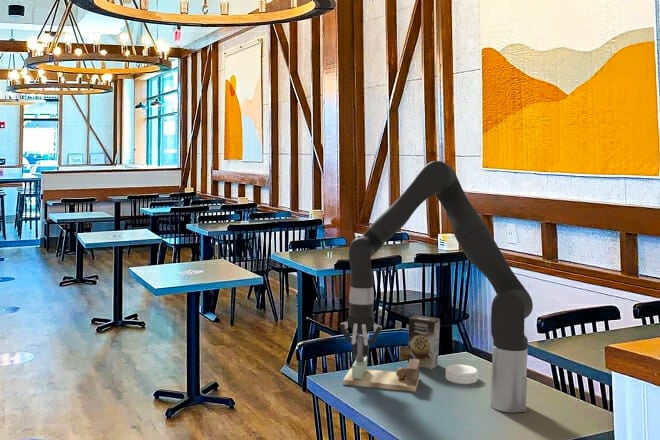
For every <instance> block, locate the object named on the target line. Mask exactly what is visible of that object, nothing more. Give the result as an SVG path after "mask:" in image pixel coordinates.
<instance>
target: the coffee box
mask: <svg viewBox="0 0 660 440" xmlns="http://www.w3.org/2000/svg"><path fill="white" fill-rule="evenodd" d="M408 319H409V320H408V343H407V344H408V345H407V346H408V347H407V364H408V363H409V360H410V359H419V368H422V369H423V368H425V369H429V370H433V369H434V368H436V367H437V366H438V365H439V346H440V345H439V344H440V326H441V319H440V318H439V317H438V318H437V317H431V316H425V315H417V314H416V315H413V316H410V317H409V318H408Z"/></svg>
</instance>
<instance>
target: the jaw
mask: <svg viewBox="0 0 660 440" xmlns="http://www.w3.org/2000/svg"><path fill="white" fill-rule="evenodd" d="M363 346H364V338H363V334H358V335H357V348H356V356H355V357H356V358H355V361H354V362H353V364H352V365H351V368H352V378H355V379H362V378H363V376H364V374H365V372H366V370H367V369H368V356H366V357H363Z"/></svg>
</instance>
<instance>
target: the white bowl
mask: <svg viewBox="0 0 660 440" xmlns="http://www.w3.org/2000/svg"><path fill="white" fill-rule="evenodd" d="M478 374H479V370H478V369H477V368H475V367H474V366H472V365H468V364H451V365H448V366H446V367H445V379H446V380H447V381H449V382H450V383H453V384H458V385H459V384H460V385H470V384H475V383H477V382H478V380H479V379H478V376H479V375H478Z"/></svg>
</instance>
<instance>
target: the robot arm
mask: <svg viewBox="0 0 660 440" xmlns="http://www.w3.org/2000/svg"><path fill="white" fill-rule="evenodd" d="M433 195H434V196H435V197H436V198H437V200H438V201H439V203H440V204H441V205H442V207H443V209H444V210H445V212H446V214H447V217H448V220H449V224H450V227H451V230H452V233H453V236H454V237H455V239H456V241H457V243H458V245H459V246H460V248H461V251H462V252H463V253H464V255H465V256H466V258H467V259H468V260H469V261H470V263H471V264H473V266H474V267H475V268H476V269H477V270H479V272H480V273H482V274H483V275H484V277H486V278H487V280H488V282H490V284H491V286H492V288H493V290H494V292H495V294H496V295H495V296H494V298H493V299H492V302H491V309H490V310H491V311H490V334H491V336H492V360H491V362H492V363H491V380H490V381H491V385H490V386H491V387H490V407H491V408H492V409H495V410H497V411H498V412H504V413H511V414H512V413H526V411H527V409H526V408H527V389H528V388H527V386H528V377H527V369H528V368H527V367H528V349H529V348H528V347H529V346H528V345H529V340H528V337H527V336H526V334H525V319H527V318H528V317H529V316H530V315H531V313H532V311H533V309H534V307H533V305H534V304H533V299H532V297H531V295H530V294H529V292H528V291H527V289H526V288H525V286H524V285H523V284H522V282H521V281H520V279H519V278H518V277H517V275H516V274H515V273H514V271H513V270H512V269H511V267H510V265H509V264H508V261H507V260H506V258H505V256H504V254H503V253H502V251H501V249H500V247H499V246H498V244H497V242H496V241H495V239H494V237H493V235H492V234H491V232H490V230H489V228H488V227H487V225H486V224H485V222H484V220H483V219H482V218H481V216H480V214H479V212H478V211H477V210H476V209H475V207H474V206H473V205H472V204H471V201H469V199H468V197H467V195H466V193H465V191H464V190H463V187H462V185H461V183H460V180H459V178H458V176H457V174H456V172H455V170H454V169H453V168H452V167H451V166H450V165H449V164H447V163H446V162H444V161H442V160H441V161H440V160H433V161H430V162H428V163H427V164H425V166H423V168H422V169H421V170H420V171H419V173H418V174H417V175H416V177H415V178H414V180H413V181H412V182H411V183H410V185H408V187H407V188H406V189H405V191H404V192H402V194H401V195H400V196H399V197H398V198H397V199H396V200H395V201H394V202H393V203H392V204H391V205H390V206H389V207H388V208H387V209H386V210H385V211H384V212H382V214H381V215H379V217H378V218H376V219H375V220H374V222H372V223H371V226H370V227H369V228H368V229H367V230H366V231H365V232H364V233H363V234H362V235H360V236H359V237H357V238H354V239H352V240H351V242H350V244H349V247H348V260H349V268H350V286H349V287H350V288H349V295H348V296H349V297H348V302H349V303H348V304H349V306H348V307H349V308H348V318H347V321H344V322H341V323H340V324H339V328H340V331H341V333H342V335H343V337H344V339H345V342H347V343H350V344H351V354H352V355H353V357H356V348H357V335H363V338H364V346H363V357H367V356H368V355H369V349H370V346H369V345H373V344H374V343H375V341H376V340H377V338H378V336H379V334H380V332H381V330H382V328H383V326H382V325H381V324H380V325H378V324H377V323H376V321H375V320H374V303H375V302H374V299H375V294H374V292H375V291H374V272H373V269H372V259H371V258H372V257H373V256H374V255H375V254H376V253H377V252H378V251H379V250H380V249H381V248H382V246H384V245H385V244H386V242H387V241H389V240H390V239H391V238H393V236H394V235H396V233H398V232H399V231H400V230H401V229H402V228H403V227H404V226H405V225H406V223H407V222H408V221H409V219H410V218H411V217H412V215H413V214H414V213H415V211H416V210H417V209H418V208H419V206H421V204H423V203H424V202H425V201H426V200H427V199H429V198H430V197H432V196H433ZM348 328H350V329H351V331H352V335H351V334H350V331H349V330H348ZM372 328H373V331H374V334H373V335H372V337H371V338H370V333H369V332H370V331H371V330H372ZM351 336H352V337H351Z"/></svg>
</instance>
